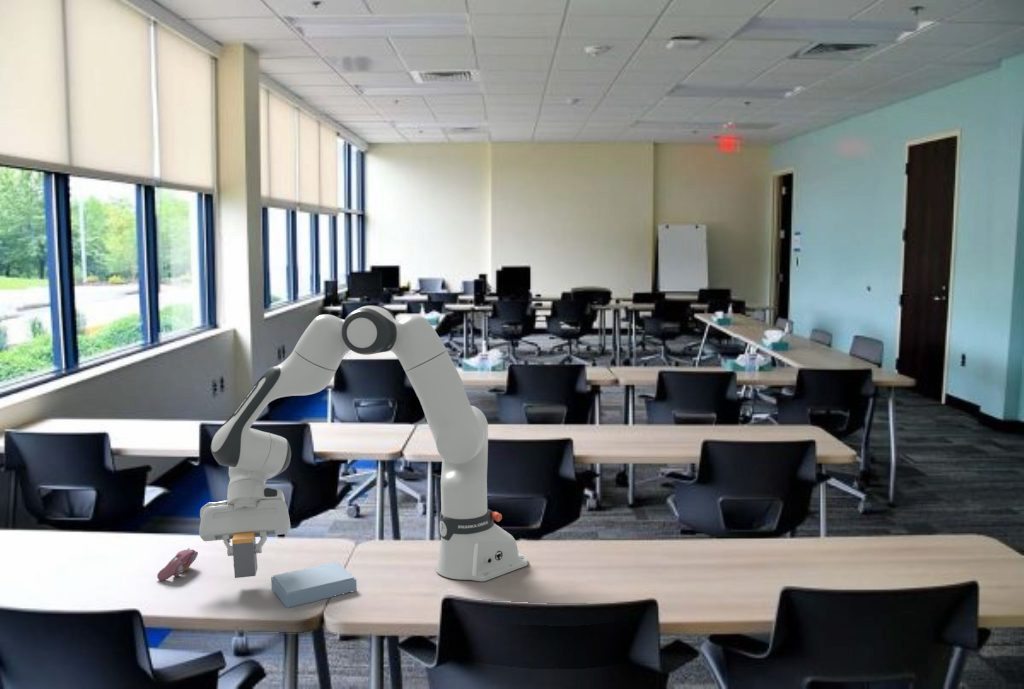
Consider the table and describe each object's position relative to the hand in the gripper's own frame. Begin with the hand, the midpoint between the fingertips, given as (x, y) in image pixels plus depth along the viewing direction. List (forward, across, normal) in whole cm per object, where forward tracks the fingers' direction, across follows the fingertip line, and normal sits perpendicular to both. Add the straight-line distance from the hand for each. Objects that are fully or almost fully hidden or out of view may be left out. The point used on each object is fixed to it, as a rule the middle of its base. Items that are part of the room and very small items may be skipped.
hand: (244, 553), depth 191 cm
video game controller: (-3, -17, +15) cm, 23 cm away
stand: (+9, +15, +3) cm, 18 cm away
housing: (+3, 0, +4) cm, 5 cm away
